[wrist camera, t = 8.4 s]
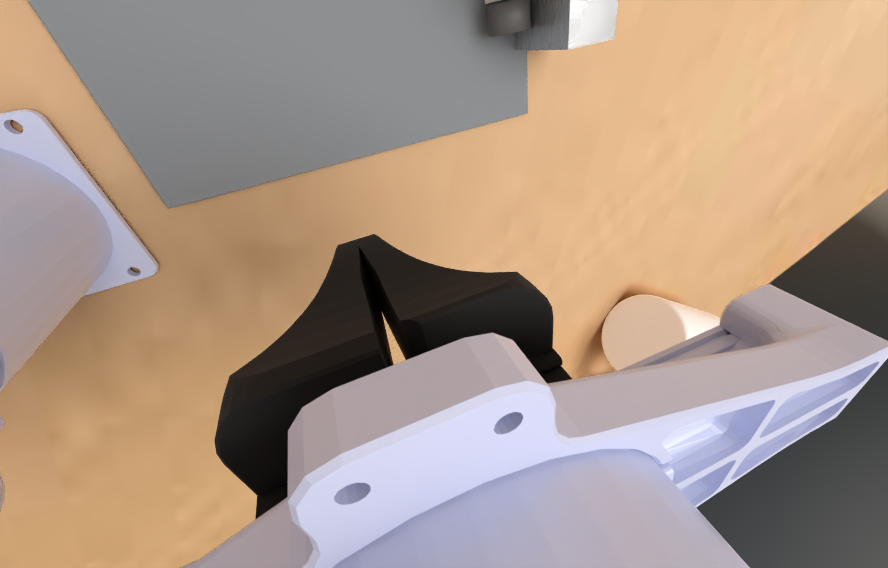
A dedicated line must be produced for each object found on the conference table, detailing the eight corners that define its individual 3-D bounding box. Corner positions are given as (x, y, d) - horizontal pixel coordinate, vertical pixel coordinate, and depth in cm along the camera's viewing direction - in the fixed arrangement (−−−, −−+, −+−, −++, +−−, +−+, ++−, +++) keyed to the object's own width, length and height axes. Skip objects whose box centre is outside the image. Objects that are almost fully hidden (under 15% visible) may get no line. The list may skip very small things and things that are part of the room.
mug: (632, 278, 34) (710, 329, 27) (685, 296, 39) (761, 343, 32) (565, 371, 38) (619, 433, 32) (620, 376, 43) (676, 431, 37)
